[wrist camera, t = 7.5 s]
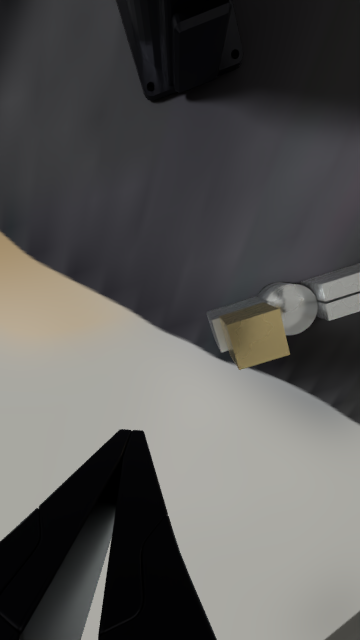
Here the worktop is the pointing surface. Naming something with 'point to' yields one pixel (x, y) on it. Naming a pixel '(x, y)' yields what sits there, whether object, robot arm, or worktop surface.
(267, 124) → the worktop surface
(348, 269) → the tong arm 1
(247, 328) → the tab
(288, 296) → the tong handle block
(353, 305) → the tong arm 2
